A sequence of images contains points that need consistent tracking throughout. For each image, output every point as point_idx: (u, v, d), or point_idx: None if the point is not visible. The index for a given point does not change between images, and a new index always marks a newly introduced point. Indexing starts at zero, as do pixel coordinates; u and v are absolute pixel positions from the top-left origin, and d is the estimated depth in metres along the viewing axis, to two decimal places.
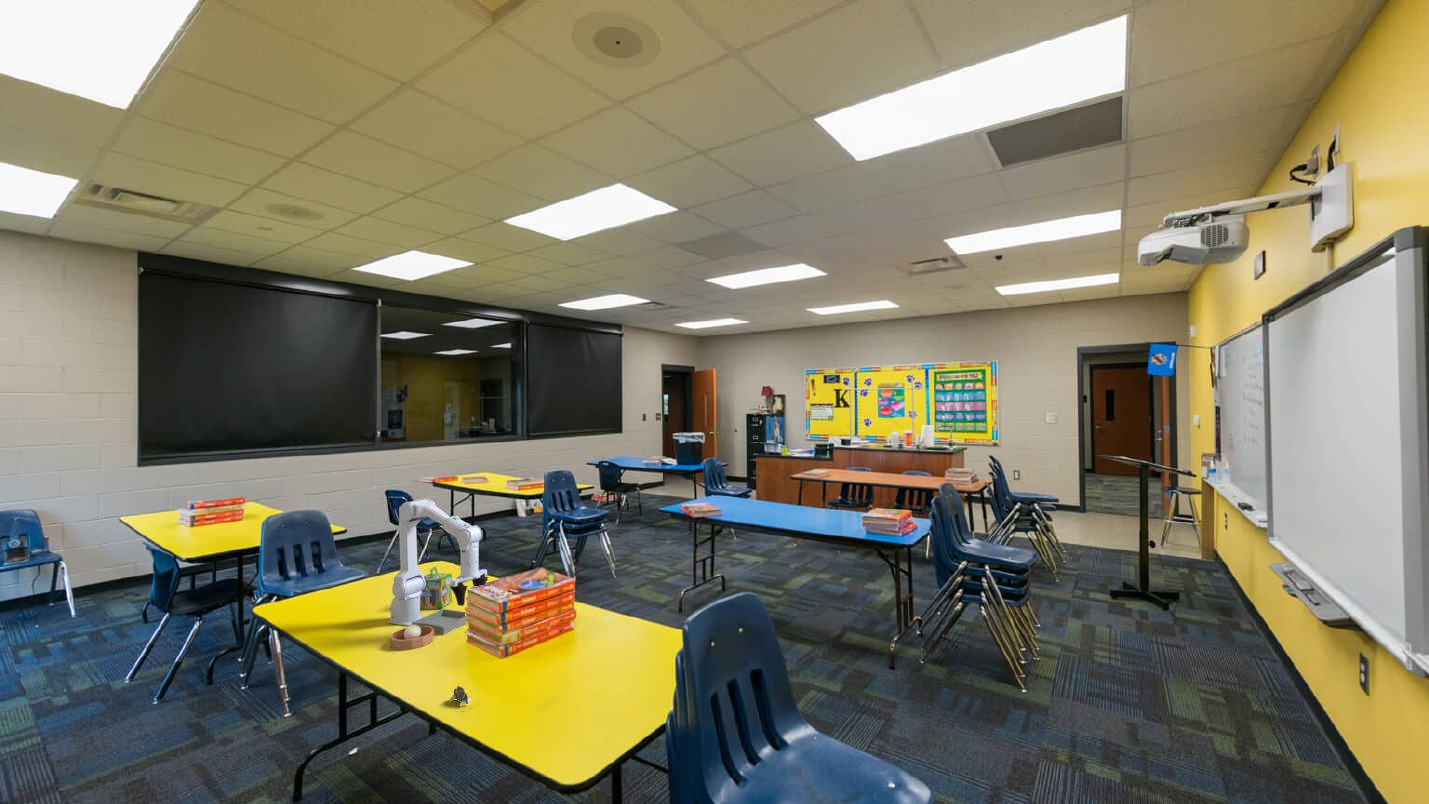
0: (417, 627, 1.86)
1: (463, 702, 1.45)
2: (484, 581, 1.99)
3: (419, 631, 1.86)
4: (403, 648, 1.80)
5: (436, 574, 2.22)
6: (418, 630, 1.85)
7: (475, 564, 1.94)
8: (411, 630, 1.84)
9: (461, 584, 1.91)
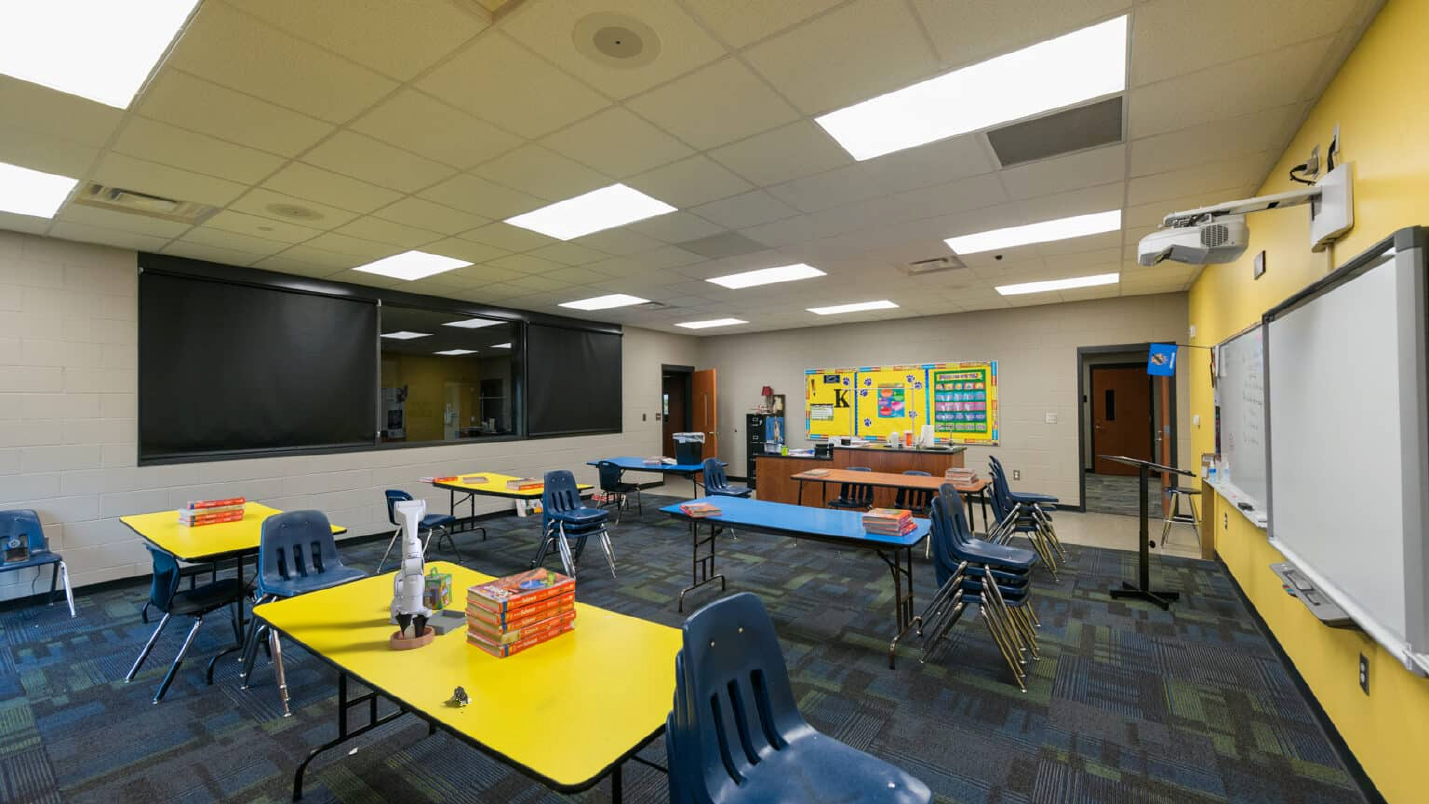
0: None
1: (463, 702, 1.45)
2: (414, 621, 1.83)
3: None
4: (403, 648, 1.80)
5: (436, 574, 2.22)
6: None
7: (405, 598, 1.84)
8: (411, 630, 1.84)
9: (400, 613, 1.87)
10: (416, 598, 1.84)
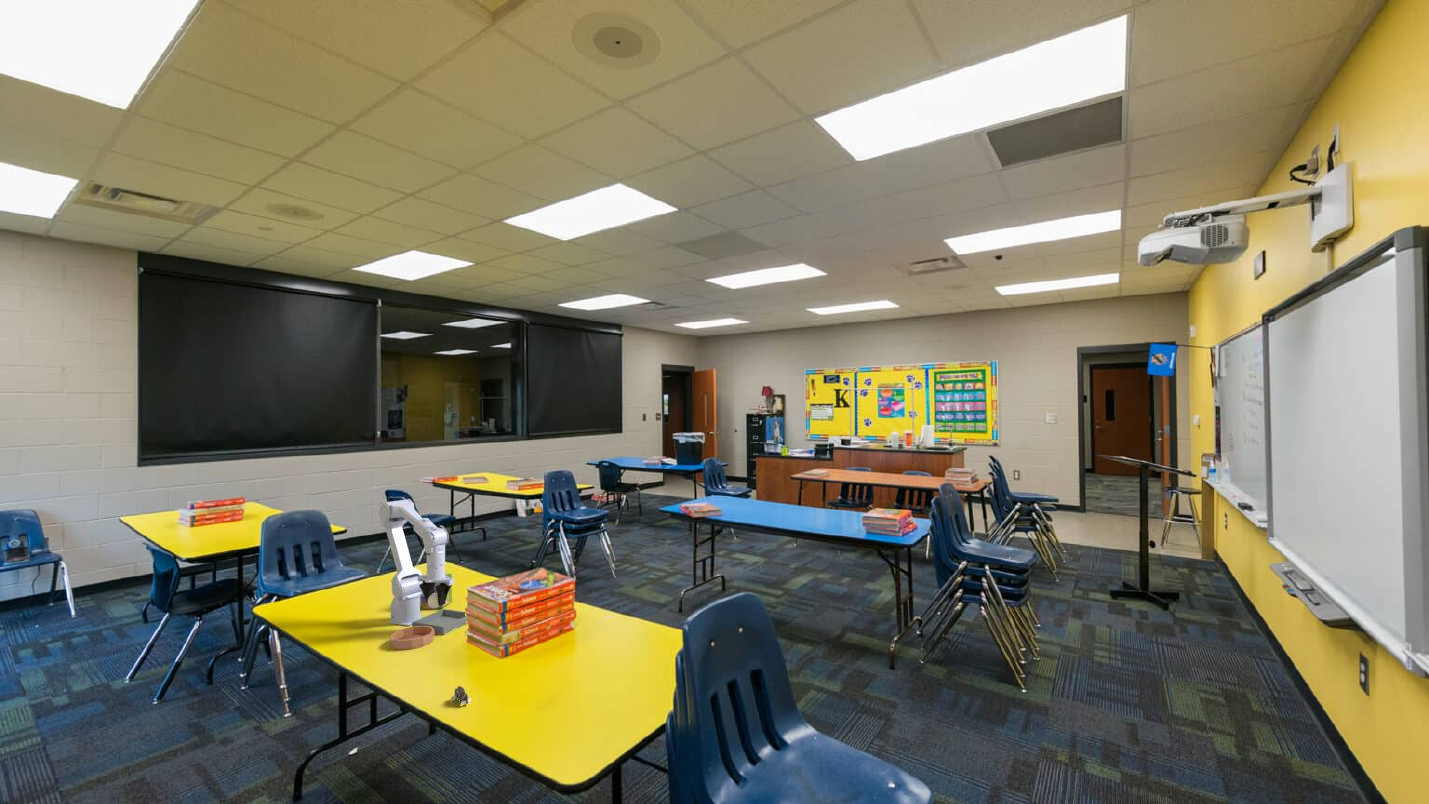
0: None
1: (463, 702, 1.45)
2: (437, 589, 1.94)
3: None
4: (403, 648, 1.80)
5: None
6: None
7: (428, 568, 1.95)
8: (434, 597, 1.95)
9: (423, 582, 1.98)
10: (439, 567, 1.95)
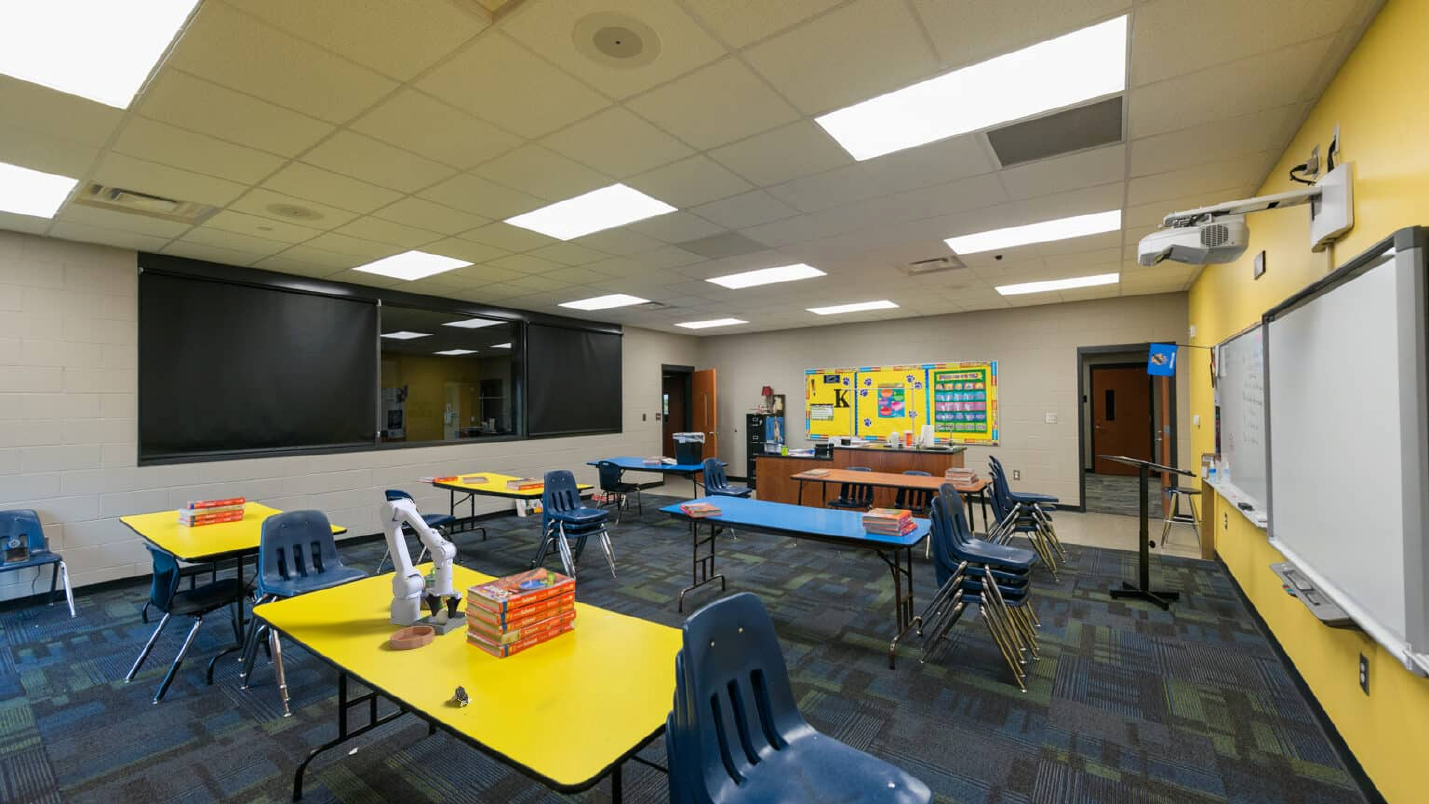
0: None
1: (463, 702, 1.45)
2: (447, 603, 1.97)
3: None
4: (403, 648, 1.80)
5: None
6: None
7: (436, 582, 1.98)
8: (442, 614, 1.99)
9: (431, 595, 2.02)
10: (447, 581, 1.99)
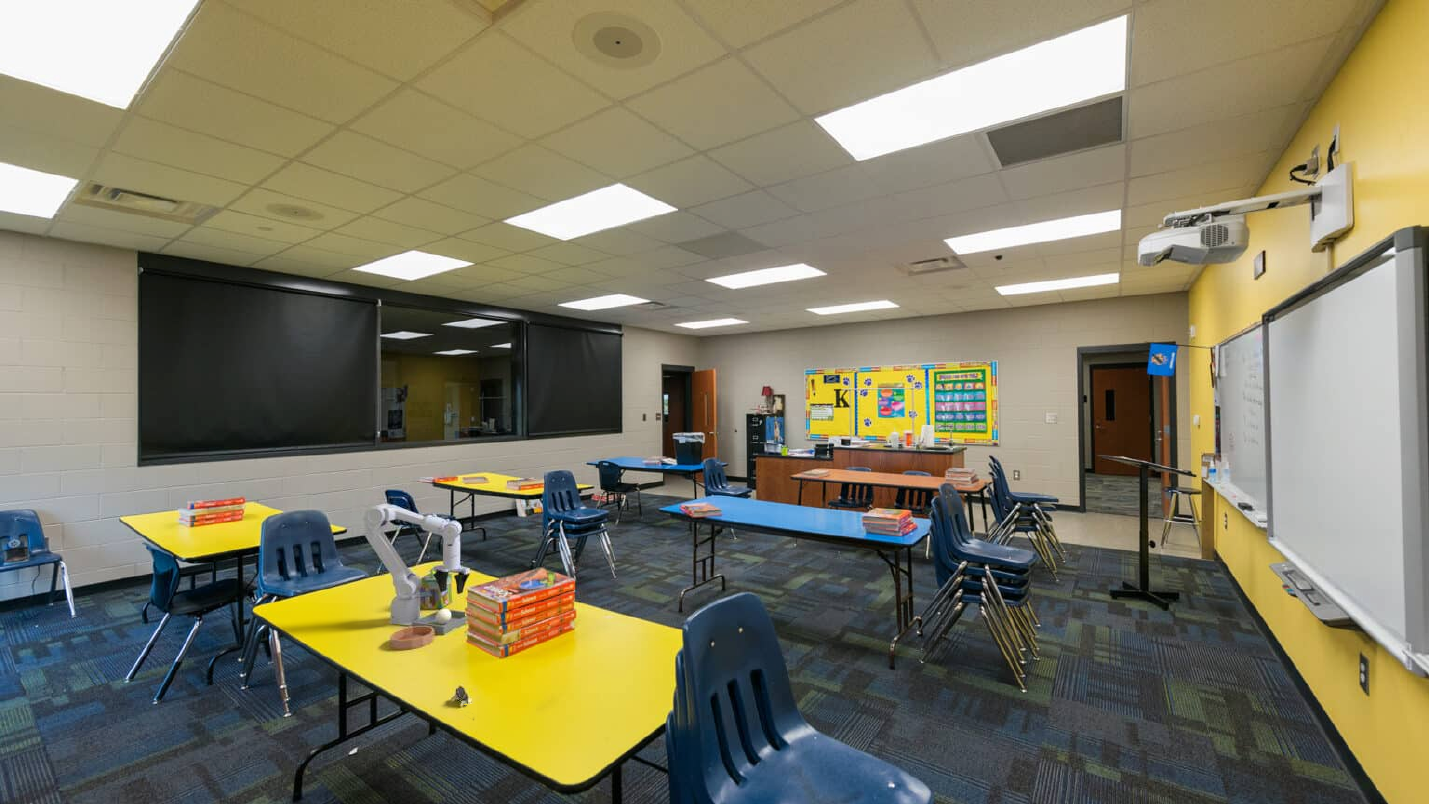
0: (447, 611, 2.01)
1: (463, 702, 1.45)
2: (456, 578, 2.04)
3: (449, 615, 2.01)
4: (403, 648, 1.80)
5: None
6: (449, 614, 2.00)
7: (445, 558, 2.06)
8: (442, 614, 1.99)
9: (439, 572, 2.09)
10: (455, 558, 2.06)
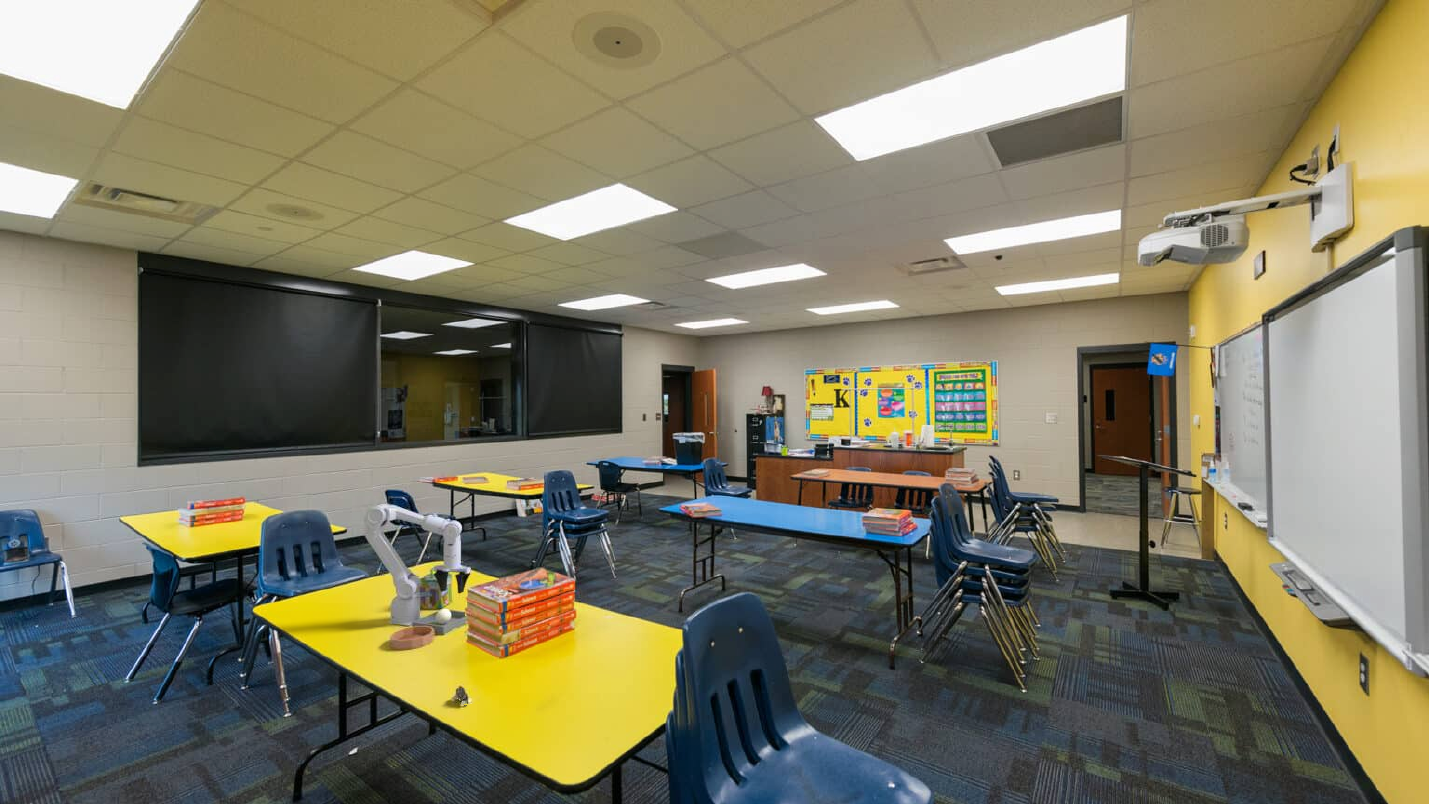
0: (447, 611, 2.01)
1: (464, 702, 1.45)
2: (457, 578, 2.05)
3: (449, 614, 2.01)
4: (403, 648, 1.80)
5: None
6: (449, 614, 2.00)
7: (446, 557, 2.06)
8: (442, 613, 1.99)
9: (440, 571, 2.09)
10: (456, 557, 2.07)
